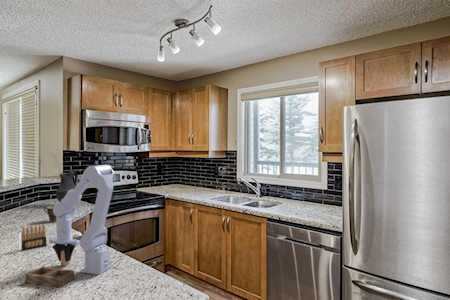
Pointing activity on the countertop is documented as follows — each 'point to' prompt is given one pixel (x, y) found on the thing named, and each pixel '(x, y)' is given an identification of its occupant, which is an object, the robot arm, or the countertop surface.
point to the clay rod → (63, 259)
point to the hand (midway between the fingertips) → (64, 260)
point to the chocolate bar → (77, 235)
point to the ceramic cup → (51, 214)
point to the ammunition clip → (33, 238)
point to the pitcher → (66, 184)
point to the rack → (50, 276)
